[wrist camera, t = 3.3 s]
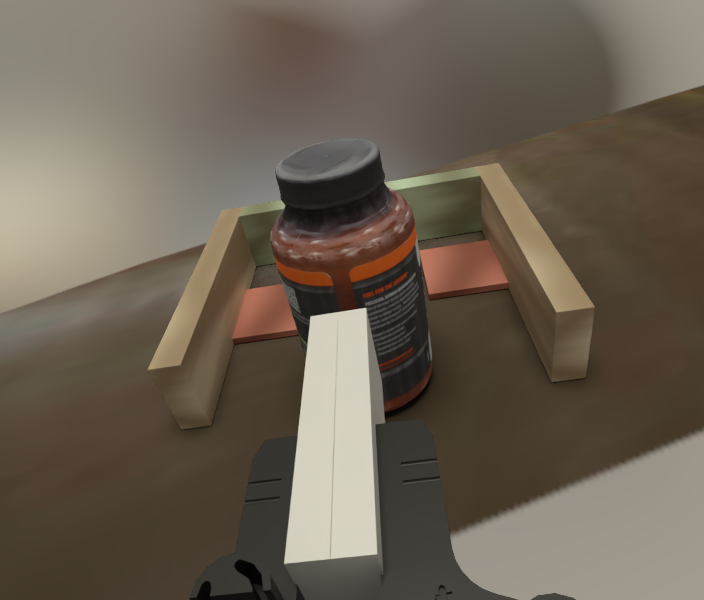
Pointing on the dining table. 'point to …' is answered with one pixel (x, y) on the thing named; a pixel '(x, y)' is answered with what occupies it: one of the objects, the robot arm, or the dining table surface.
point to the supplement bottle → (354, 256)
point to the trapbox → (438, 267)
